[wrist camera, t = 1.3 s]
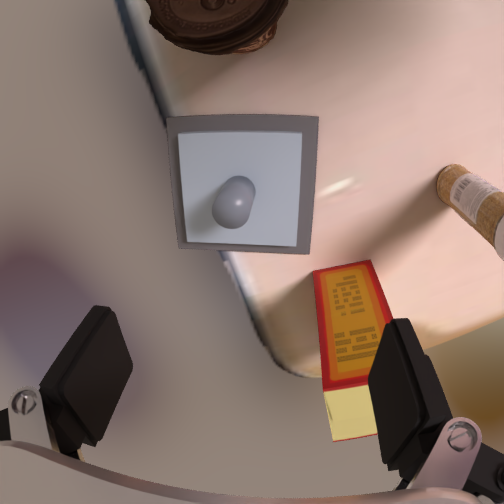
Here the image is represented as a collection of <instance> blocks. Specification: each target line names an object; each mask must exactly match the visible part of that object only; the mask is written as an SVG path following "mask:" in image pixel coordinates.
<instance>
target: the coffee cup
mask: <svg viewBox="0 0 504 504" xmlns="http://www.w3.org/2000/svg"><path fill="white" fill-rule="evenodd" d="M146 2H147V3H148V4H149V6H150V9H151V16H150V20H149V23H150V24H151V25H152V27H153V28H154V29H156V30H158V32H159V33H161V34H162V35H163V36H164V38H165V39H166V40H168V41H170V42H172V43H173V44H174V45H176V46H178V47H181V48H183V49H187V50H190V51H195V52H199V53H204V54H209V55H223V54H230V53H231V54H244V53H249V52H253V51H256V50H258V49H260V48H262V47H263V46H265V45H267V44H268V43H269V41H270V40H271V39H273V37H274V35H275V33H276V28H277V21H278V19H279V17H280V16H281V15H282V13H283V11H284V9H285V8H286V6H287V4H288V0H146Z"/></svg>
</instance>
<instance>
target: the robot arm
mask: <svg viewBox="0 0 504 504" xmlns="http://www.w3.org/2000/svg"><path fill="white" fill-rule="evenodd" d="M132 369H133V363H132V360H131V357H130V355H129V352H128V349H127V346H126V344H125V341H124V338H123V335H122V333H121V330H120V326H119V324H118V320H117V317H116V314H115V313H114V312H113V311H112V310H111V309H110V307H105V306H97V305H96V306H93V307H92V309H91V310H90V312H89V313H88V314H87V315H86V317H85V318H84V319H83V321H82V322H81V324H80V325H79V327H78V328H77V329H76V331H75V332H74V333H73V335H72V336H71V338H70V339H69V341H68V342H67V343H66V345H65V346H64V348H63V349H62V351H61V352H60V354H59V355H58V357H57V358H56V360H55V361H54V363H53V364H52V366H51V367H50V369H49V370H48V372H47V373H46V375H45V376H44V378H43V380H42V381H41V383H40V384H39V385H40V389H39V391H38V390H37V389H36V388H34V387H31V386H25V387H22V388H20V389H17V390H16V391H15V392H14V393H13V394H12V396H11V397H10V399H9V402H8V408H6V409H4V410H2V411H0V504H504V454H502V453H500V452H498V451H496V450H494V449H493V448H490V447H489V446H487V445H485V444H483V443H482V442H481V441H482V436H481V431H480V429H479V427H478V426H477V425H476V424H475V422H473V421H471V420H470V419H467V418H464V417H457V418H454V419H453V417H452V414H451V411H450V408H449V406H448V403H447V400H446V397H445V395H444V392H443V389H442V387H441V384H440V382H439V379H438V377H437V374H436V372H435V369H434V367H433V364H432V362H431V360H430V358H429V356H427V355H425V354H424V352H423V350H422V347H421V345H420V343H419V340H418V338H417V336H416V333H415V331H414V329H413V327H412V325H411V322H410V320H409V319H408V318H400V319H392V320H391V321H390V323H386V324H385V327H384V330H383V333H382V337H381V340H380V343H379V346H378V349H377V352H376V355H375V358H374V361H373V364H372V367H371V369H370V372H369V375H368V387H369V392H370V396H371V401H372V406H373V411H374V417H375V422H376V427H377V433H378V439H379V444H380V450H381V457H382V462H383V463H384V464H387V466H388V471H392V470H398V469H399V474H400V477H401V479H400V480H399V482H398V483H397V485H396V486H395V488H394V489H393V490H392V491H387V492H380V493H372V494H363V495H353V496H340V497H324V498H263V497H246V496H234V495H225V494H216V493H209V492H202V491H195V490H189V489H183V488H178V487H173V486H168V485H163V484H159V483H154V482H150V481H145V480H141V479H138V478H134V477H130V476H127V475H123V474H120V473H116V472H113V471H109V470H106V469H103V468H100V467H97V466H94V465H91V464H88V463H86V462H85V460H84V457H83V454H82V452H81V448H80V447H81V445H82V443H85V444H87V445H90V446H94V447H95V446H96V444H97V442H98V441H100V440H101V439H102V438H103V436H104V433H105V431H106V428H107V426H108V424H109V421H110V419H111V417H112V415H113V412H114V410H115V407H116V405H117V403H118V401H119V399H120V396H121V394H122V392H123V390H124V387H125V385H126V383H127V381H128V379H129V377H130V374H131V372H132Z"/></svg>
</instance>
